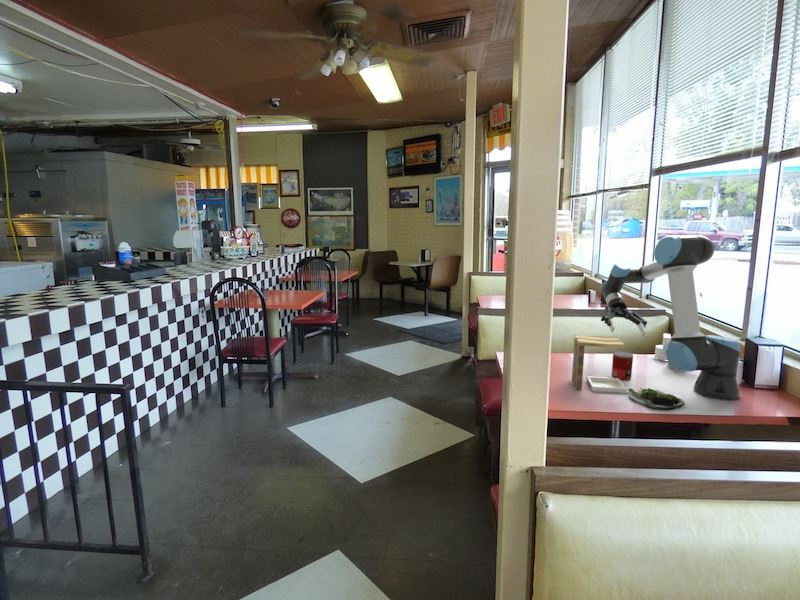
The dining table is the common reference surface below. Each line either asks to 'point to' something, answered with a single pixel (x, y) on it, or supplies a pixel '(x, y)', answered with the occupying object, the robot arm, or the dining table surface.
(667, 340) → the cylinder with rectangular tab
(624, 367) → the canned food
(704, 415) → the dining table surface
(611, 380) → the shallow square white tray
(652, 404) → the salad plate
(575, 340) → the wooden l-shaped stand
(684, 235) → the robot arm
